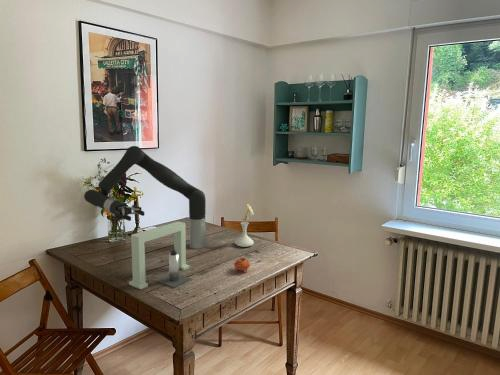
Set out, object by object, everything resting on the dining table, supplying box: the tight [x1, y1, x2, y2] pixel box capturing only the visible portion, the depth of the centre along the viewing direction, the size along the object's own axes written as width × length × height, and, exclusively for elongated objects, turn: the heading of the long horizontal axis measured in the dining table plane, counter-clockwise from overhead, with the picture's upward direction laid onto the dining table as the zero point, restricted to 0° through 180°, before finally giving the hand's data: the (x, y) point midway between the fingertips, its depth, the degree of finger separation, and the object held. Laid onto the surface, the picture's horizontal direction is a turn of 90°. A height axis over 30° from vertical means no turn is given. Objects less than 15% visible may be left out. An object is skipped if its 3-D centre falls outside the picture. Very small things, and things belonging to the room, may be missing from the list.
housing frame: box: [128, 221, 190, 290], centre depth 168 cm, size 8×30×23 cm, turn 145°
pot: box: [233, 257, 251, 273], centre depth 178 cm, size 8×8×7 cm
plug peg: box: [168, 248, 180, 281], centre depth 164 cm, size 4×4×14 cm
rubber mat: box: [156, 273, 192, 289], centre depth 165 cm, size 11×11×1 cm
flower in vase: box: [234, 203, 255, 248], centre depth 214 cm, size 13×11×25 cm
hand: (137, 216), depth 178 cm, fingers open, 8 cm apart
